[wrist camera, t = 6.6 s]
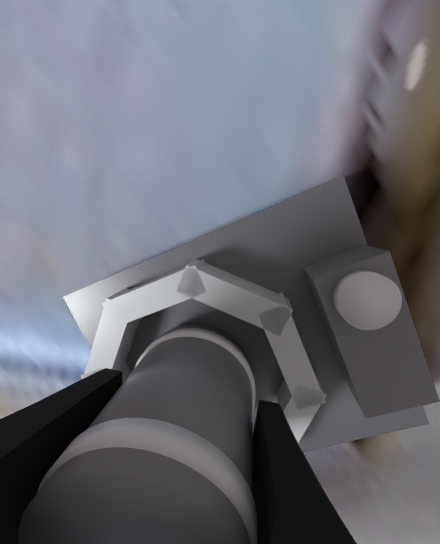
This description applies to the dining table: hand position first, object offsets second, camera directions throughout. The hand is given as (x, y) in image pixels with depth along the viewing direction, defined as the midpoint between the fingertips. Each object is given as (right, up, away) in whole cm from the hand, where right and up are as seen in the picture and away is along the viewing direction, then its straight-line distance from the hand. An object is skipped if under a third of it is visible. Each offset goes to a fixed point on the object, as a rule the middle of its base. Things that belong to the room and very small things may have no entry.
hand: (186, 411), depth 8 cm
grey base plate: (+2, +1, +4) cm, 5 cm away
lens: (0, 0, +2) cm, 2 cm away
